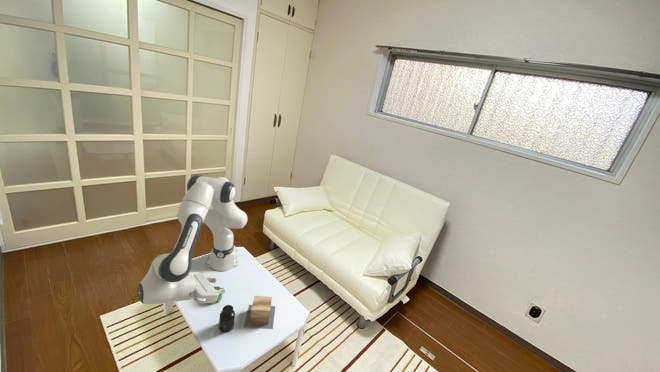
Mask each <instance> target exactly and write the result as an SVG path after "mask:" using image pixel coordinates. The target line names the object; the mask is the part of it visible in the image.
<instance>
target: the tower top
mask: <svg viewBox="0 0 660 372" xmlns="http://www.w3.org/2000/svg"><path fill="white" fill-rule="evenodd" d="M272 301H273V296H267V295H266V296H264V295H254V296H253V301H252V304H251V305H252V309H251V317H265V318H269V315H270V308H271V306H272Z"/></svg>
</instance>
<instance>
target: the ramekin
mask: <svg viewBox="0 0 660 372" xmlns="http://www.w3.org/2000/svg"><path fill="white" fill-rule="evenodd" d="M212 286H213V287H214V288H215V290H220V288H222V287H221V286H218V285H217V286H216V285H215V286H214V285H212ZM222 298H223V294H220V295H218V299H217V301H216V302H214V303H208V304H210V305H215V304H218V303H220V301H221V300H222Z"/></svg>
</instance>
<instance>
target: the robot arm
mask: <svg viewBox="0 0 660 372" xmlns="http://www.w3.org/2000/svg"><path fill="white" fill-rule="evenodd" d="M235 196H236V186H235V183H232V182H230V181H229V179H228V178H227V177H224V176H217V177H212V176H211V177H210V176H205V175H204V176H203V175H199V174H196V175H193V176H191V177H190V178H189V179H188V181H187V183H186V193H185V195H184V196H183V199H182V201H181V202H180V204H179V207H178V210H177V213H176V219H177V220H178V221H179V223H180V224H181V230H180V233H179V236H178V238H177V241H176V243H175V246H174V247H173V249H172V250H171V252H170V253H162V254H159V255H157V256H156V257H155V258H154V259H153V260H152V262H151V263H150V266H149V269H148V271H147V273H146V275H145V276H144V277H143V279H142V280H140V282H139V283H138V285H137V287H136V288H137V289H136V292H137V293H136V294H137V298H138V301H139V302H140V303H141V304H143V305H160V304H166V303H168V302H184V301H190V300H193V301H194V302H196V303H198V304H209V303H214V302H216V301H217V299H218V295H220V294H222V295H224V294H225V292H226V289H225V288H224V287H221V288H220V290H215V288H214V287H213V286H214V285H212V284H215V283H216V282H217V278H216V277H210V276H205V275H204V273H203V272H201V271H191V269H192V263H193V262H192V257H193V252H194V249H195V246H196V243H197V241H198V238H199V235H200V233H201V230H202V226H203V224H205V225H206V226H207V227H208V228H209V229H210V231H211V233H212V235H213V244H212V250H211V251H210V252H209V258H208V259H207V261H206V264H207V265H209V266H210V269H212V270H214V271H218V272H226V271H228V270H230V269H232V268H235V267H237V266H239V250H238V249H236V245H234V242H235V239H234V233H233V231H232V230H231V229H242V228H244V227H245V226H246V225H247V223H248V215H247V213H246V212H245V211H244V210H242V209H240V208H239V207H238V206H237V205H236V203H235V202H234V198H235Z"/></svg>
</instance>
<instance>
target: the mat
mask: <svg viewBox="0 0 660 372" xmlns="http://www.w3.org/2000/svg"><path fill="white" fill-rule="evenodd" d="M251 309H252V304H248V308H247V312H246V316H245V321H244V324H243V328H249V329H262V330H263V329H266V330H267V329H269V330H273V329H274V321H275V313H276V305H271V308H270V315H269V322H268V324H253V323H250V318H251Z"/></svg>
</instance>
